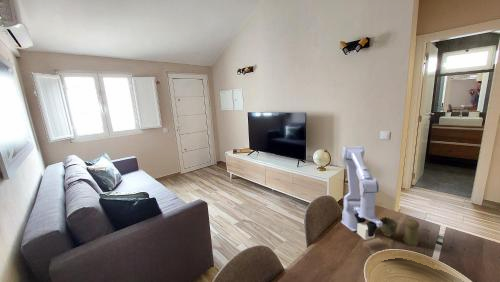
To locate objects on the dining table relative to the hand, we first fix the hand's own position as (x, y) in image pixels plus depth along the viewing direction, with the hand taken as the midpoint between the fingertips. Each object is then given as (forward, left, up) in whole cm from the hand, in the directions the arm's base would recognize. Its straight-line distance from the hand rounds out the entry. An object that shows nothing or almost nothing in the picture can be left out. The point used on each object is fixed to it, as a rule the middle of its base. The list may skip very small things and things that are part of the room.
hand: (366, 232), depth 97 cm
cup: (-4, +17, -9) cm, 20 cm away
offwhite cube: (0, 0, -2) cm, 2 cm away
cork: (+3, +23, -9) cm, 25 cm away
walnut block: (+3, +4, -9) cm, 10 cm away
